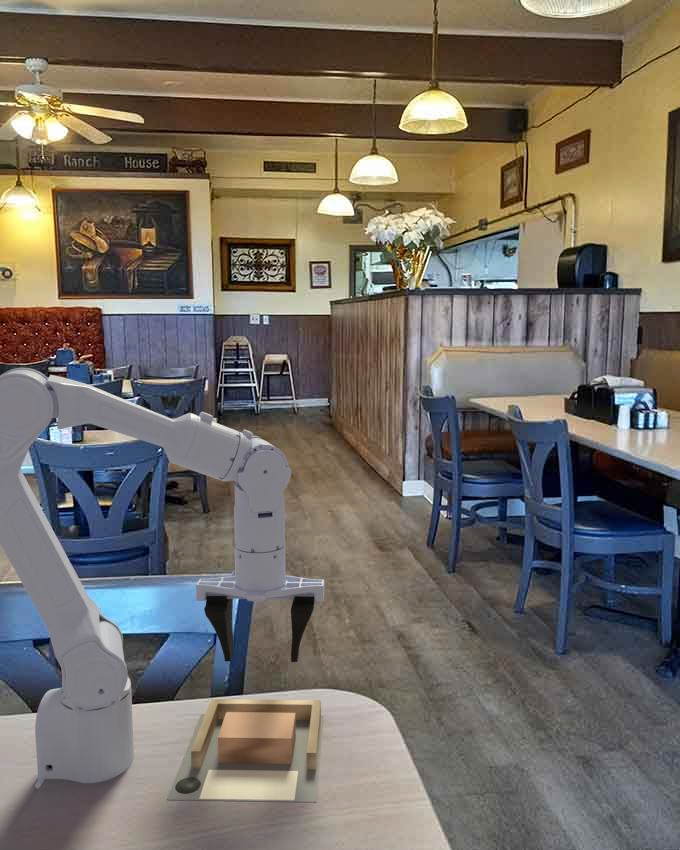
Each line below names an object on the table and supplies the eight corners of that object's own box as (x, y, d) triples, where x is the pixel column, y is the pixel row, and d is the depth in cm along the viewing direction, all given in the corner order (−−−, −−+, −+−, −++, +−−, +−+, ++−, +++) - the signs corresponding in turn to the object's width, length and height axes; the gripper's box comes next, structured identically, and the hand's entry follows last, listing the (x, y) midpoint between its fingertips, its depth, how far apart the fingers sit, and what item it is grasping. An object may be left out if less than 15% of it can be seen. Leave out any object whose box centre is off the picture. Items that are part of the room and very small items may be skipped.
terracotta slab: (218, 762, 76) (217, 737, 75) (226, 736, 81) (226, 711, 80) (291, 764, 76) (291, 738, 75) (295, 737, 81) (295, 712, 80)
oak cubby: (191, 768, 75) (190, 751, 75) (211, 714, 85) (211, 699, 85) (316, 770, 75) (315, 752, 74) (321, 715, 85) (321, 700, 85)
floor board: (167, 805, 70) (167, 799, 70) (201, 718, 85) (201, 714, 85) (316, 807, 70) (316, 801, 70) (323, 720, 85) (323, 715, 85)
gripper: (188, 556, 75) (192, 674, 77) (322, 557, 75) (322, 675, 77) (202, 536, 82) (205, 645, 84) (324, 537, 82) (325, 646, 84)
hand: (262, 657), depth 81 cm, fingers open, 7 cm apart
